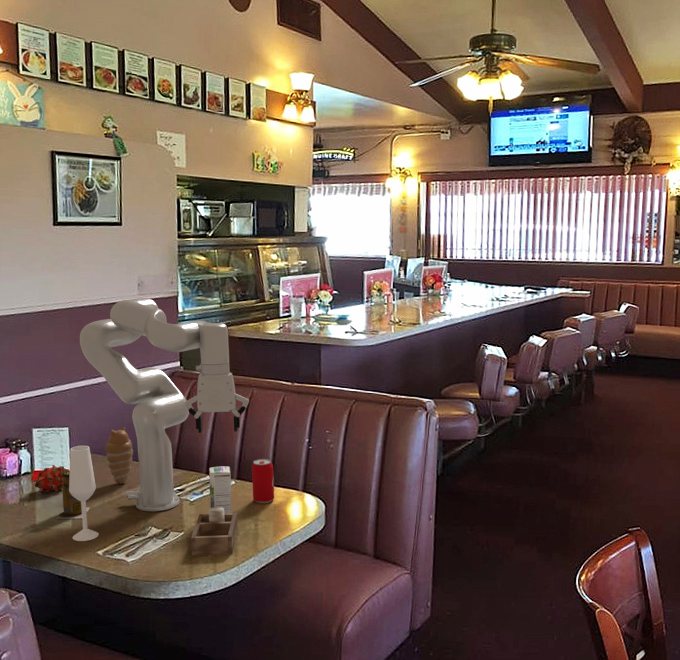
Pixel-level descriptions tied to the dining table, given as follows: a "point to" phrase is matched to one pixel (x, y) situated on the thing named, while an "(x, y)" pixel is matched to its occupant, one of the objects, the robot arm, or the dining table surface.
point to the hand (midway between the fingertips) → (218, 430)
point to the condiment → (70, 501)
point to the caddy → (214, 533)
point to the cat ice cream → (119, 455)
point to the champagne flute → (82, 485)
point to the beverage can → (263, 481)
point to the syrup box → (220, 488)
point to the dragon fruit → (50, 479)
